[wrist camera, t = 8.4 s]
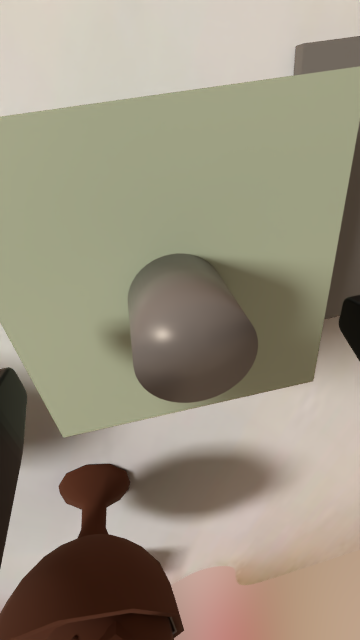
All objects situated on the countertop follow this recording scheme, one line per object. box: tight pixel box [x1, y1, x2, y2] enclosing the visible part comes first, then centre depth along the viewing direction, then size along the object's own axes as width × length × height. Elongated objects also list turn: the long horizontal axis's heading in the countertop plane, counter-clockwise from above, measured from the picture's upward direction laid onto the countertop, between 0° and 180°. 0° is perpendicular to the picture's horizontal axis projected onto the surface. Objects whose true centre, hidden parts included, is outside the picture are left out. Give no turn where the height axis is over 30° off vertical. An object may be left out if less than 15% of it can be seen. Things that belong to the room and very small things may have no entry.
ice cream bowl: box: [0, 464, 184, 640], centre depth 19 cm, size 11×11×15 cm
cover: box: [0, 66, 360, 438], centre depth 9 cm, size 11×11×4 cm
